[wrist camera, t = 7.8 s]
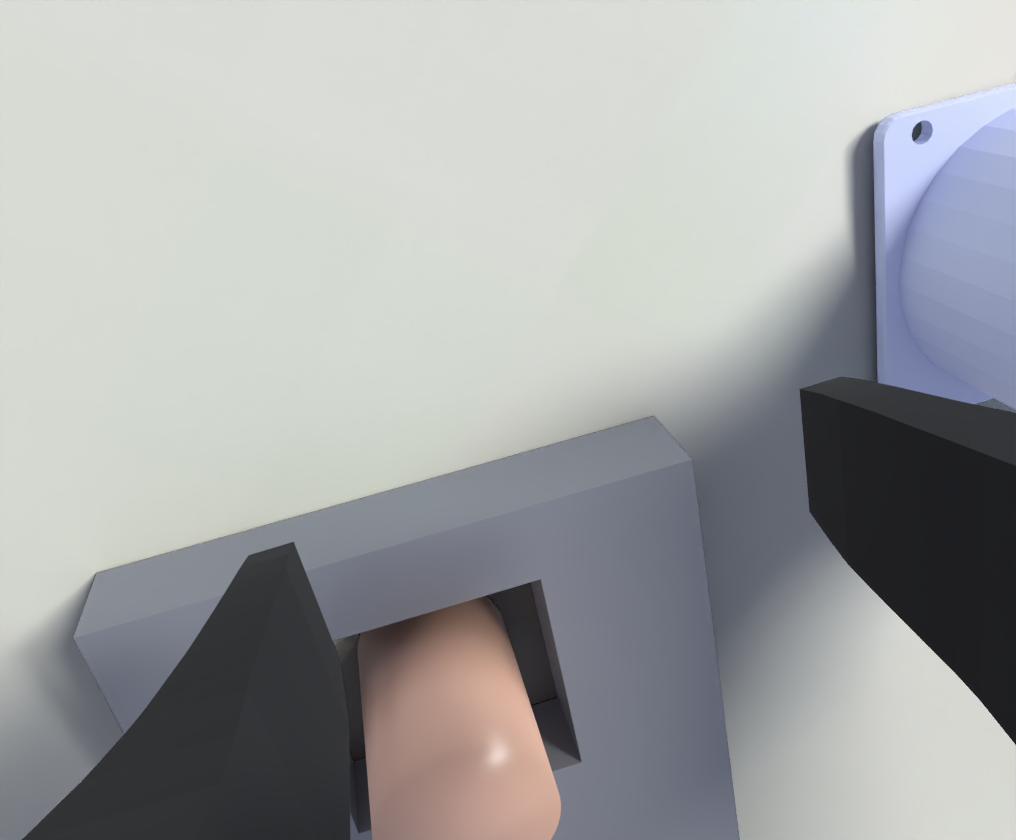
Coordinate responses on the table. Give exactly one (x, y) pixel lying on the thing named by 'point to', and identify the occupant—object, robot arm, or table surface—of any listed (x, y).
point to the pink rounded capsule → (452, 731)
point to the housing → (486, 570)
